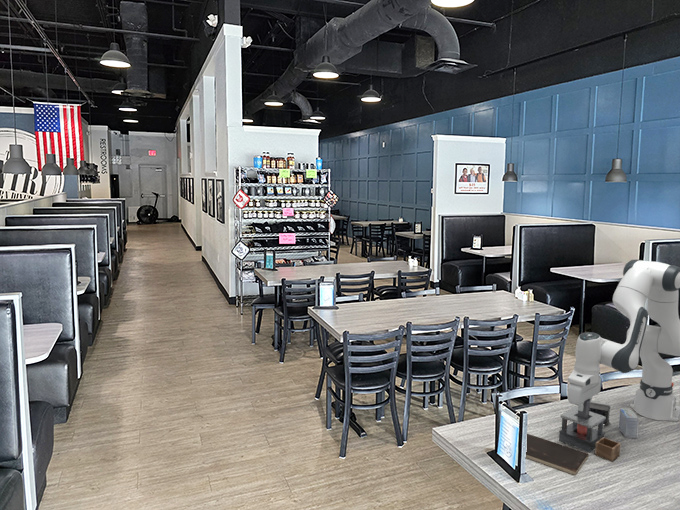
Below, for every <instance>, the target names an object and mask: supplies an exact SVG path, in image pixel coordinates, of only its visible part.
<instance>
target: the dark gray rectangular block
mask: <svg viewBox="0 0 680 510" xmlns="http://www.w3.org/2000/svg"><path fill="white" fill-rule="evenodd" d="M583 406H585V407H584V411H582V412H581V411H579V410H578V417H580V418H582V419H585V420H588V419H589V410H590V400H589V399H587V400H586V401H584V403H583ZM577 424H578V423H577ZM579 425H580V424H579ZM582 426H583V425H582Z"/></svg>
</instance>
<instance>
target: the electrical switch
mask: <svg viewBox="0 0 680 510" xmlns="http://www.w3.org/2000/svg"><path fill="white" fill-rule="evenodd" d="M610 410H611V404H610V403H604V402H598V401H593V400H591V402H590V410H589V411H590V412H593V413H596V414H599V415H602V416H605V417H606V419H605V420H604V423H603V424H605V425H604V426H608V423H610V422H609V421H610V412H611V411H610Z"/></svg>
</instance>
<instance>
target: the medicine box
mask: <svg viewBox="0 0 680 510" xmlns="http://www.w3.org/2000/svg"><path fill="white" fill-rule="evenodd" d="M638 428H639V417H638V416H637V415H636V414H635V411H633V410H632V409H625V408H621V409H619V421H618V430H620V431H621V433H622V435H623V436H624V437H625V438H628V439H629V438H631V439H637V438H638V430H639V429H638Z"/></svg>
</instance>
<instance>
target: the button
mask: <svg viewBox="0 0 680 510" xmlns="http://www.w3.org/2000/svg"><path fill="white" fill-rule="evenodd" d="M577 433H578V434H581V435H584V436H587V427H586V426H582V425H579V424H577Z"/></svg>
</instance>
